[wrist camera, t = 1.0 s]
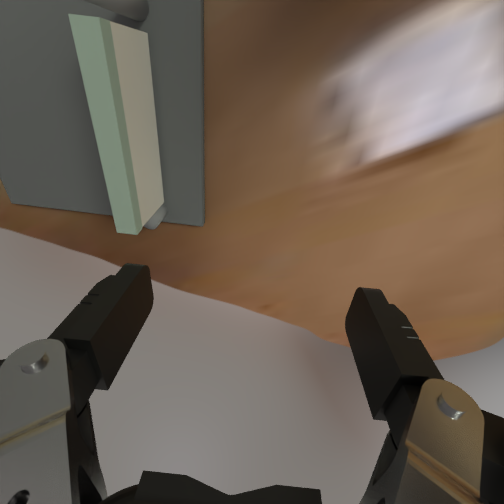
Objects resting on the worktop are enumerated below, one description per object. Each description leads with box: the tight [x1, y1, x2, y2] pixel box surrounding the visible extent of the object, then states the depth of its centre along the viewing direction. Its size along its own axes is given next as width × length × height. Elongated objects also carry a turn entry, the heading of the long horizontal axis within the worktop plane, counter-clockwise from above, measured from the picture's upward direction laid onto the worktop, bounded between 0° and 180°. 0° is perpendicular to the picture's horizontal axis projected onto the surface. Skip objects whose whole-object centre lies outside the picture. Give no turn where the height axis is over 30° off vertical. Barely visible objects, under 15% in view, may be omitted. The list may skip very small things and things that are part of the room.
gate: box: [68, 14, 164, 235], centre depth 22 cm, size 15×2×7 cm, turn 174°
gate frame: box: [0, 0, 205, 229], centre depth 21 cm, size 25×23×10 cm
